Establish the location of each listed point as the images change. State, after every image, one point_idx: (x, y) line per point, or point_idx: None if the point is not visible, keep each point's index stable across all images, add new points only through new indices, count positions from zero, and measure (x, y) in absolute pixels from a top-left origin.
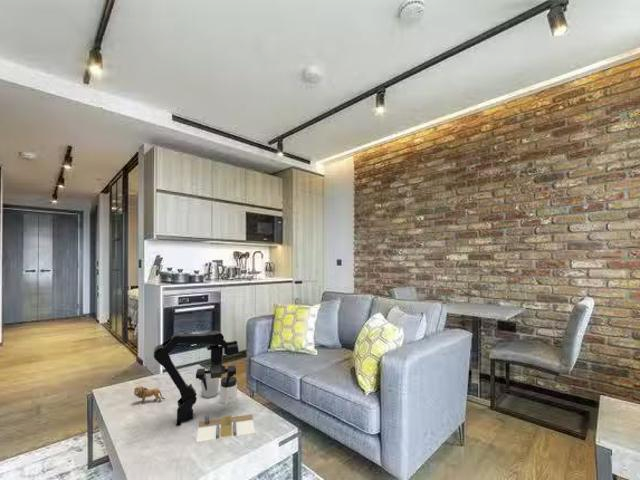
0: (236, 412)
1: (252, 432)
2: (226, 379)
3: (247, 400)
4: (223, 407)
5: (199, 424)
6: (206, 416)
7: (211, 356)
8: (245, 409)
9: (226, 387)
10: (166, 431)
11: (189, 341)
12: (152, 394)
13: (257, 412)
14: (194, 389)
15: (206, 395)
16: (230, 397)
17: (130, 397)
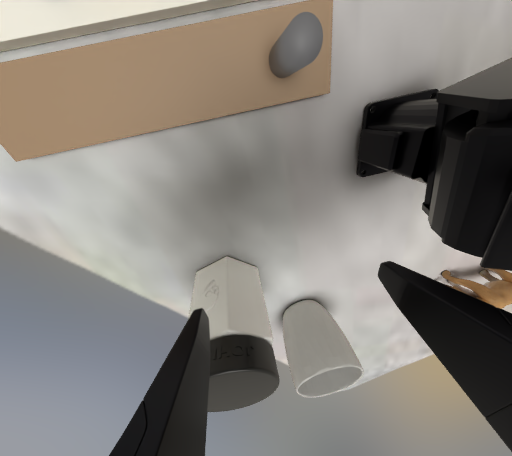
0: (158, 208)
1: None
2: (177, 451)
3: (153, 294)
4: (237, 247)
5: (328, 47)
6: (305, 16)
7: None
8: (123, 233)
9: (190, 317)
10: (488, 25)
11: None
12: (490, 288)
13: (31, 205)
14: (505, 260)
15: (315, 305)
16: (210, 287)
17: None
